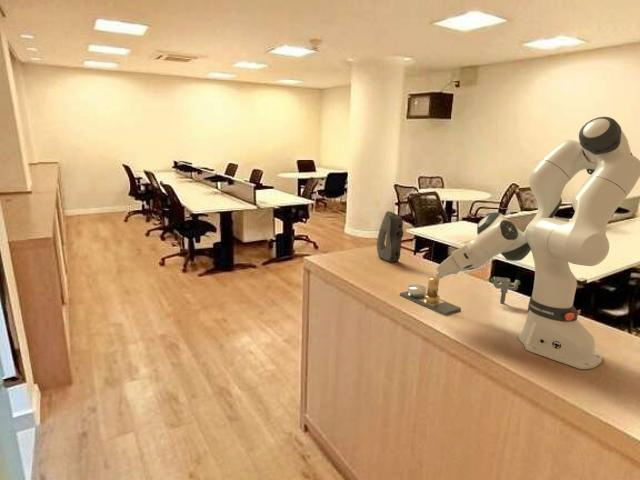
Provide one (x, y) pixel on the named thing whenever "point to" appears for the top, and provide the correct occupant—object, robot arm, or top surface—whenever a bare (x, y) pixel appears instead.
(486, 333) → the top surface
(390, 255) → the handheld device
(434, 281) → the gold pawn piece
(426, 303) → the carrier plate
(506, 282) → the mechanical component
